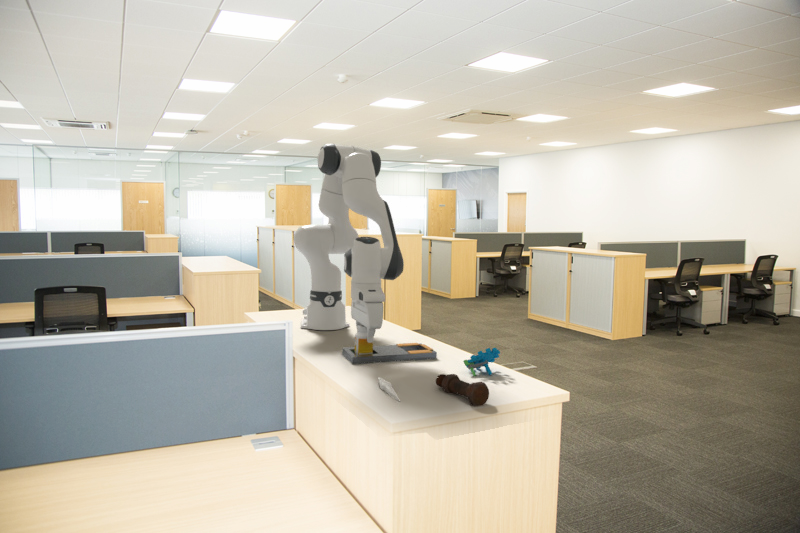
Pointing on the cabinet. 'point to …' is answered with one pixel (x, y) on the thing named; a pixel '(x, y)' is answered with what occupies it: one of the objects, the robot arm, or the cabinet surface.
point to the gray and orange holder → (391, 353)
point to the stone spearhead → (387, 388)
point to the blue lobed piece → (482, 360)
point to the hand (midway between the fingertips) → (365, 338)
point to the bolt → (464, 388)
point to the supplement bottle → (362, 342)
